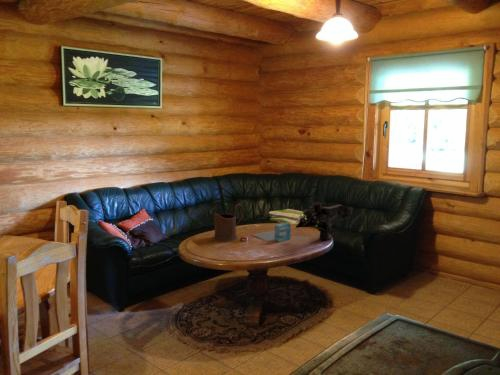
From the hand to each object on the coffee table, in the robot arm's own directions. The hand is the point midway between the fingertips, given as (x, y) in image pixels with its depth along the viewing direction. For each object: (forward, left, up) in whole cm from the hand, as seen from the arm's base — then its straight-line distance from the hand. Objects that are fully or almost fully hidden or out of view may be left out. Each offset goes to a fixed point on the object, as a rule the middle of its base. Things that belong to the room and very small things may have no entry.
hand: (299, 227), depth 307 cm
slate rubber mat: (+1, -30, -13) cm, 33 cm away
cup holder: (+30, -45, -14) cm, 56 cm away
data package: (+1, -17, -14) cm, 22 cm away
